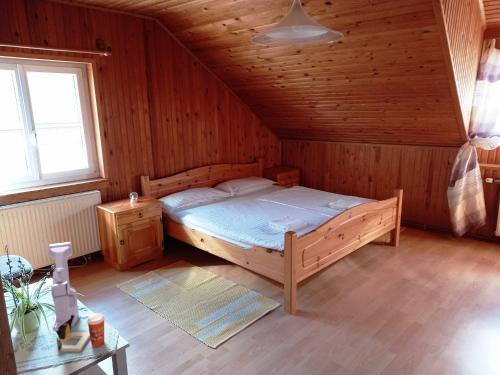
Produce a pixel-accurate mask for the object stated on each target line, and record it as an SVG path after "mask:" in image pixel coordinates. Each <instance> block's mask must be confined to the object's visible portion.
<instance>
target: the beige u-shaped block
mask: <svg viewBox="0 0 500 375" xmlns="http://www.w3.org/2000/svg"><path fill="white" fill-rule="evenodd" d="M70 336H71V338H70V339H69V340H72V339H73V340H78V342H77V344H76V345H68V344H67V345H64V344H63V345H62V347H61V349H60V352H79V353H80V352H82V350H83V349H84V348H85V346H86V345H87V343H88V341H89V340H90V334H89V331H73V332H71V333H70Z"/></svg>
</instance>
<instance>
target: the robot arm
mask: <svg viewBox="0 0 500 375" xmlns="http://www.w3.org/2000/svg"><path fill="white" fill-rule="evenodd" d="M72 255H73V245H72V242H71V241H68V242H67V241H66V242H60V243H52V244H51V243H50V244H49V245H48V256H49V257H50V258H51V259H53V260H54V263H55V270H54V271H53V272H52V285H51V287H50V288H51V289H50V291H51V293H50V294H51V296H52V301H53V305H54V313H55V314H54V315H55V316H54V317H53V320H54V323H53V326H52V331H53V332H55V333H56V335H57V337H58V338H60V339H65V332H66V327H67V325H63V324H64V323H68V324H69V328H70V332H71V330H72V328H73V327H74V326H75V324H76V323H77V322H78V321H79V319H81V315H79V306H78V305H79V304H78V297H77V296H78V295H77V291H76V289H74V288H72V287H70V277H69V266H68V258H69V257H72Z"/></svg>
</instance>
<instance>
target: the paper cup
mask: <svg viewBox="0 0 500 375" xmlns="http://www.w3.org/2000/svg"><path fill="white" fill-rule="evenodd" d="M105 319H106V317H105V315H104V314H103V313H100V312H95V313H91V314H90V315H89V316H88V317H87V319H86V323H87V325H88V332H89V334H90V338H89V340H90V343H91V346H92V347H93V348H100V347H101V345H102V346H103V345H104V344H105Z"/></svg>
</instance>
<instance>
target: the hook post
mask: <svg viewBox="0 0 500 375" xmlns="http://www.w3.org/2000/svg"><path fill="white" fill-rule="evenodd" d="M62 343H63V342H61V341H60V338H59V337H57V339H56V346H57V350H59V351H61V347H62V346H63V345H62Z"/></svg>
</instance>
